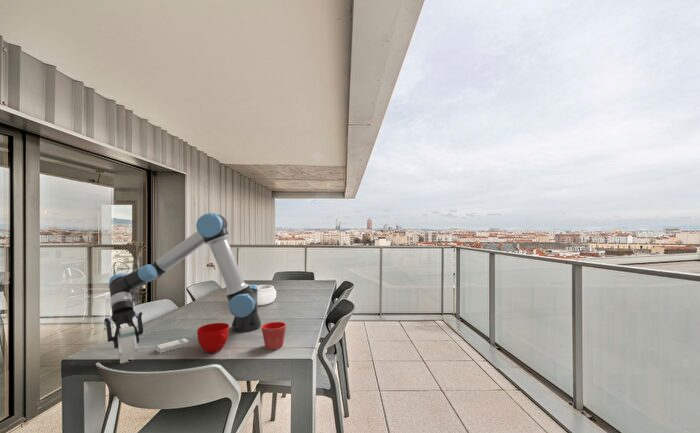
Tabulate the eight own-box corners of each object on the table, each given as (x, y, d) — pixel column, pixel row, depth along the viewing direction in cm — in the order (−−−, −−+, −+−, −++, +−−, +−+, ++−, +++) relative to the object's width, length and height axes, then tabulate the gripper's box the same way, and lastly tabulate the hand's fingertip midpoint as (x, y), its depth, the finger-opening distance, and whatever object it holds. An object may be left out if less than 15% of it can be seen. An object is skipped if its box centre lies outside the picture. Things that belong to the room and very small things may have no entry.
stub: (132, 356, 127) (132, 326, 128) (134, 359, 124) (134, 328, 124) (118, 360, 124) (119, 328, 124) (120, 363, 121) (120, 331, 121)
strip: (185, 342, 142) (185, 337, 142) (189, 345, 138) (189, 341, 138) (155, 350, 134) (155, 345, 134) (159, 353, 130) (159, 348, 130)
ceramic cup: (209, 361, 121) (209, 336, 121) (192, 351, 132) (192, 328, 132) (238, 351, 131) (238, 328, 131) (220, 342, 142) (220, 321, 142)
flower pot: (265, 342, 141) (265, 321, 141) (288, 342, 141) (288, 321, 141) (258, 351, 130) (258, 329, 131) (282, 351, 130) (282, 328, 130)
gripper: (144, 305, 142) (151, 350, 129) (95, 313, 129) (99, 364, 117) (146, 296, 138) (155, 341, 126) (97, 303, 126) (101, 354, 113)
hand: (128, 352), depth 121 cm, fingers closed on stub, 4 cm apart
